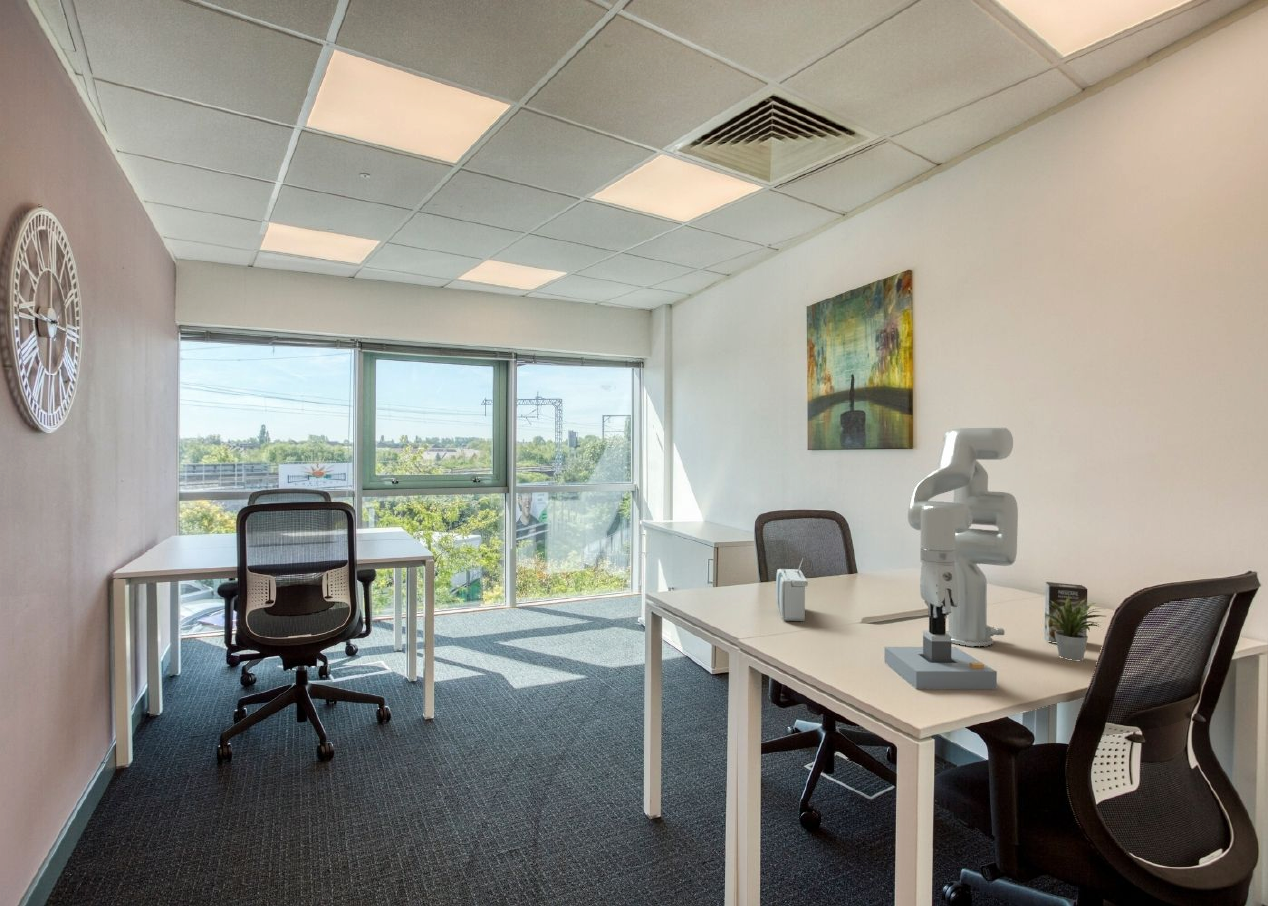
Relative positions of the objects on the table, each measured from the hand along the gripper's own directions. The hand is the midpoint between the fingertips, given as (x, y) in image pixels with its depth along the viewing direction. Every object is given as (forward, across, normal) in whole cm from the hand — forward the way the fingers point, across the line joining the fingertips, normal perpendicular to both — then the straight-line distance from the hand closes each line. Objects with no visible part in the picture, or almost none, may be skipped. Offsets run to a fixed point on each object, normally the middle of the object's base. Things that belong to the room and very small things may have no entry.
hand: (937, 633), depth 151 cm
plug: (+10, 0, 0) cm, 10 cm away
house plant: (+10, +12, -40) cm, 43 cm away
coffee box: (+10, +27, -49) cm, 57 cm away
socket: (+10, 0, 0) cm, 10 cm away
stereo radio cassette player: (+10, +57, +20) cm, 62 cm away
